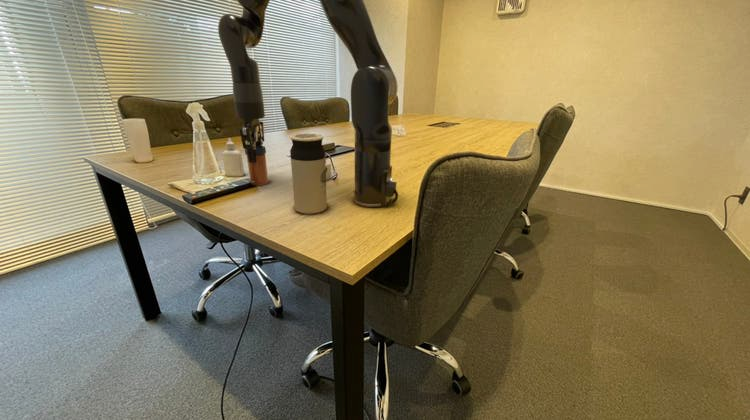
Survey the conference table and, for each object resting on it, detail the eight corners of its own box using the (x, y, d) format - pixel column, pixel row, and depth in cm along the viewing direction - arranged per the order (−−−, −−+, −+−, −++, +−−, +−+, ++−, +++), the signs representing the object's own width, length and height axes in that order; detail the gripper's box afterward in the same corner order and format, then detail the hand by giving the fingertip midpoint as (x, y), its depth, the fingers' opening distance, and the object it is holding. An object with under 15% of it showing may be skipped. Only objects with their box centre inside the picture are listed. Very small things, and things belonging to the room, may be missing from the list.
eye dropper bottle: (235, 178, 97) (229, 140, 92) (223, 175, 100) (217, 138, 95) (246, 175, 101) (241, 138, 96) (235, 172, 103) (229, 136, 98)
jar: (271, 181, 95) (268, 148, 91) (262, 186, 91) (257, 151, 87) (257, 179, 97) (253, 146, 92) (247, 184, 92) (241, 150, 88)
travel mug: (288, 211, 74) (281, 137, 67) (306, 200, 81) (302, 132, 74) (316, 217, 72) (312, 140, 65) (332, 205, 79) (330, 135, 71)
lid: (269, 151, 92) (268, 146, 92) (260, 156, 87) (259, 150, 86) (251, 150, 93) (250, 145, 92) (241, 154, 88) (240, 149, 87)
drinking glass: (128, 162, 110) (115, 120, 104) (144, 158, 116) (133, 118, 110) (144, 164, 109) (133, 121, 103) (160, 159, 115) (149, 118, 109)
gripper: (254, 102, 78) (262, 166, 84) (269, 98, 91) (275, 154, 98) (224, 101, 77) (234, 165, 84) (243, 98, 90) (251, 154, 97)
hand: (256, 159), depth 91 cm, fingers closed on lid, 5 cm apart
